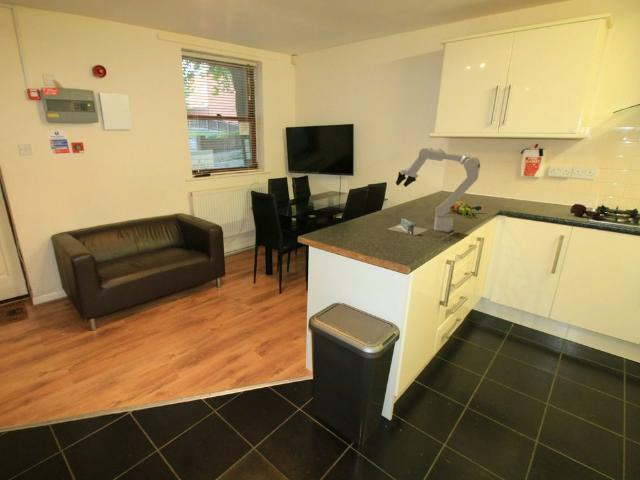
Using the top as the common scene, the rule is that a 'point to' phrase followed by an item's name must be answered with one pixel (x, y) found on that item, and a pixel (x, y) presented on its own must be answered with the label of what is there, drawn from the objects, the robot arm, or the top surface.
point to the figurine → (584, 212)
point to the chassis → (412, 230)
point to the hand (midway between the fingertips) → (400, 185)
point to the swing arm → (407, 224)
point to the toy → (463, 208)
